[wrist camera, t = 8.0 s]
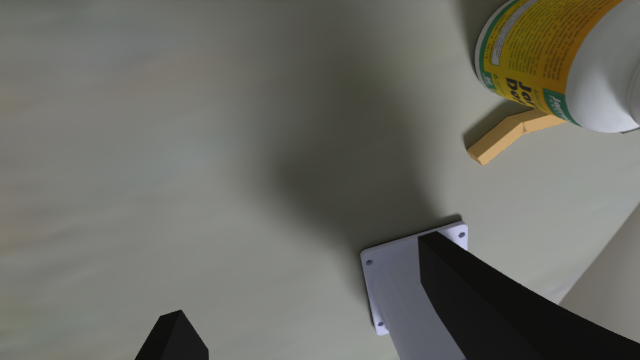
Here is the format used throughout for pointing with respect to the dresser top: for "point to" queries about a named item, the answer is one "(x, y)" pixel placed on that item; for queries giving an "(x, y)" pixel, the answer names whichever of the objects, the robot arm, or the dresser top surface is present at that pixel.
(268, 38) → the dresser top surface
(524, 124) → the guard rails
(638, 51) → the supplement bottle
